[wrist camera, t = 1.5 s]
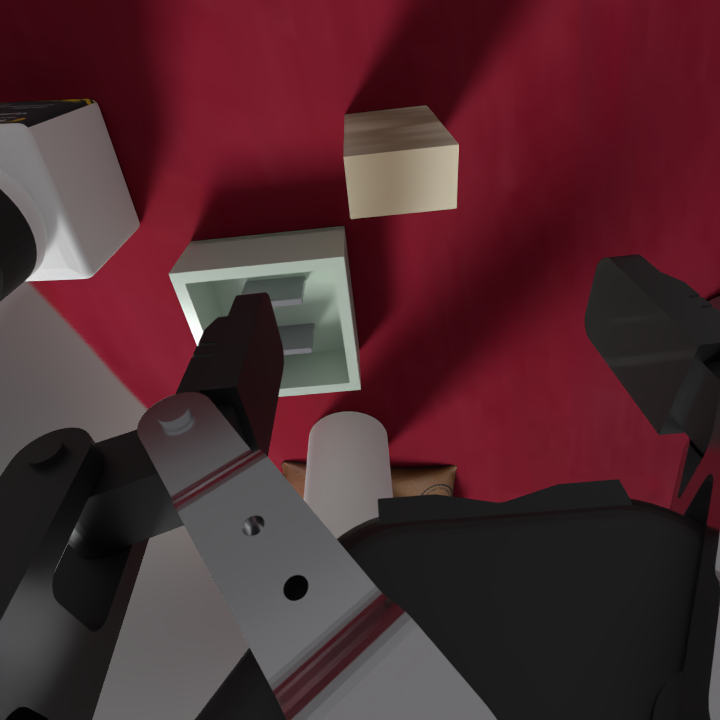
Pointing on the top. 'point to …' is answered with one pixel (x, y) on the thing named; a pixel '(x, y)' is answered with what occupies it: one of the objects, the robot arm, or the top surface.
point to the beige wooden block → (399, 162)
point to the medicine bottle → (58, 193)
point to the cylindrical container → (347, 470)
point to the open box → (282, 299)
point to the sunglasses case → (402, 478)
